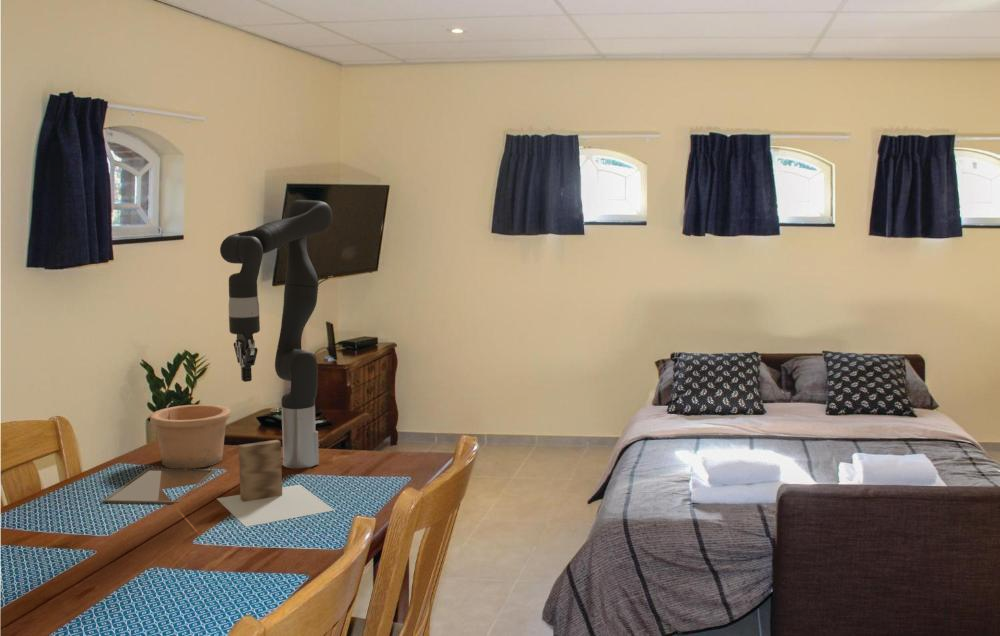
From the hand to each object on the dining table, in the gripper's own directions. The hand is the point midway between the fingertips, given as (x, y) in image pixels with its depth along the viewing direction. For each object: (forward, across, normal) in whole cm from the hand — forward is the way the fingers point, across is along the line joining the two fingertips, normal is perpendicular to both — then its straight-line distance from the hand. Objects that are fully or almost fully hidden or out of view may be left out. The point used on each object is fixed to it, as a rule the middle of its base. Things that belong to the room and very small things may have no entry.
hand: (246, 380), depth 244 cm
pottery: (+29, +35, +6) cm, 46 cm away
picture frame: (+30, +15, +19) cm, 38 cm away
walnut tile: (+28, -9, 0) cm, 30 cm away
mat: (+29, -16, -1) cm, 33 cm away
